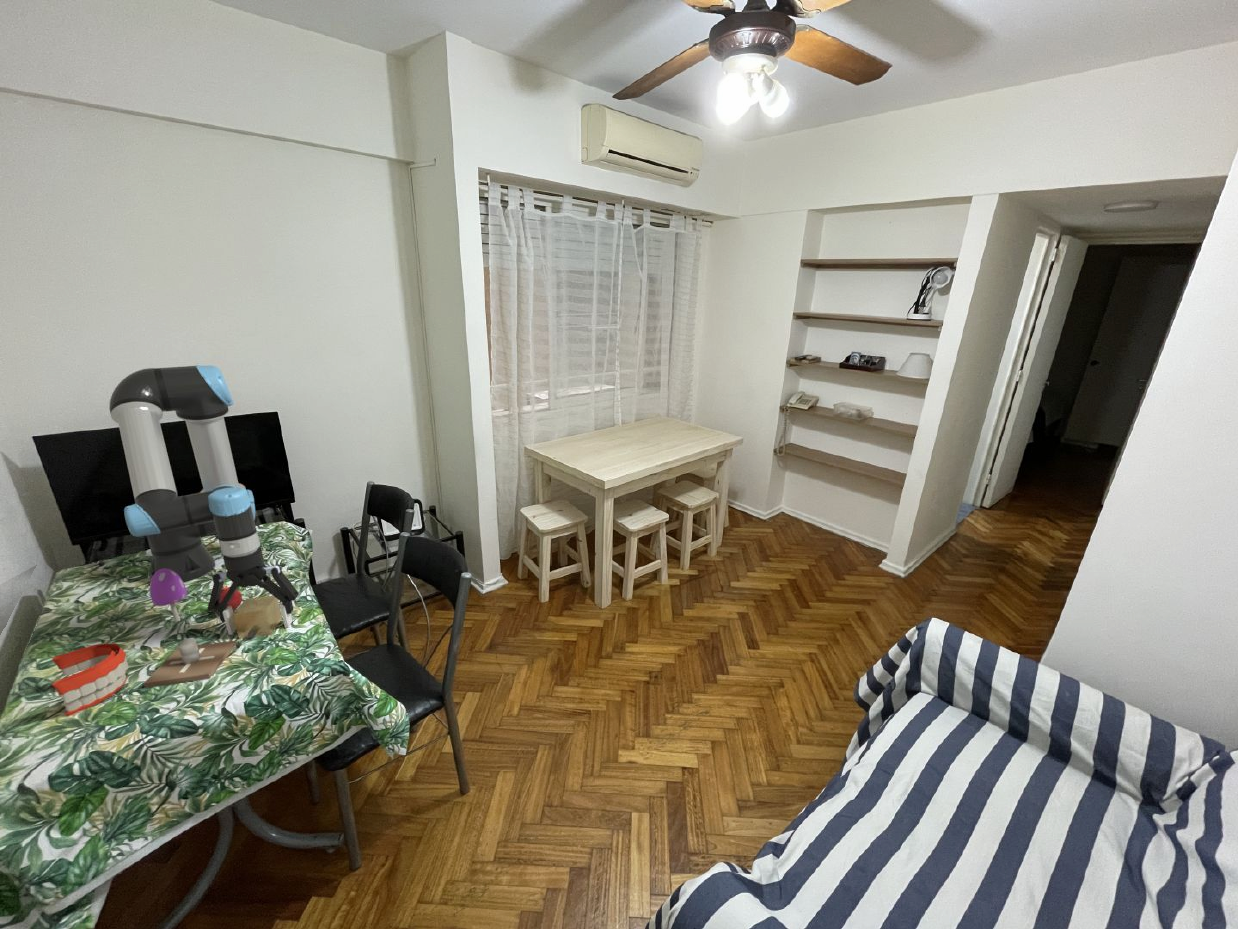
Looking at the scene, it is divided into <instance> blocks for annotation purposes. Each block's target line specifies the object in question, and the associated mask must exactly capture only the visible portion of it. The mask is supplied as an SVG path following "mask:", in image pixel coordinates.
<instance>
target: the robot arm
mask: <svg viewBox="0 0 1238 929" xmlns="http://www.w3.org/2000/svg"><path fill="white" fill-rule="evenodd" d="M233 405H234V400H233V397H232V395H231V392H230V389H229V388H228V385H227V383H226V380H225V378H224V376H223V372H222V371H221V369H220V368H219V367H218V366H216V365H198V364H197V365H188V366H172V367H156V368H155V367H152V368H151V367H149V368H143V369H140V370H137V371H135V372H132V373H130V374H128V375H127V376H125V378H123V379H122V380H121V381H120V382H119V383H118V384H117V386H116V387H115V388H114V389H113V392H112V393H111V395H110V400H109V412H110V417H111V419H112V421H114V422H115V423H116V424H118V427H119V428H118V429H119V431H120V437H121V441H122V442H121V443H122V446H123V450H124V455H125V461H126V465H127V470H128V474H129V480H130V484H131V488H132V493H133V497H134V502H135V503H132V504H131V505H128V506H125V507H124V509H123V512H124V513H123V514H124V519H125V523H126V526H127V528H128V531H129V533H130V535H132V536H134V537H137V538H138V537H144V536H145V537H146V539H147V541H148V542H147V543H148V545H149V546H148V547H149V548H150V552H151V555H152V558H151V565H150V566H151V567H150V573H149V574H150V575H149V577H150V578H151V579H152V577H153V575H154V574H155V572H157V571H158V570H160V569H170V570H172V571H174V572H175V573H177V574H178V575H179V576H180V578H181V579H182V581H183V583H184V582H188V581H191V580H194V579H198V578H199V577H201V576H204V575H207V573H210V572H211V571H212V570H213V569H214V568H215V567H216V562H215V557H213V555H212V554H211V553H210V552H209V550H208V549H207V548H206V546H204V544H203V541H202V537H205V536H206V537H207V536H210V535H215V534H217V538H218V539H217V540H218V543H219V547H220V551H221V554H222V555H223V558H222V559H223V562H224V566H225V570H226V571H224V570H218V571H217V572H215V573H214V574H213V575H212V581H213V582H212V583H213V585H212V589H211V594H210V597H209V601H208V604H207V610H208V611H217V612H218V616H219V618H220V621H221V622H222V623H224V624H225V626H226V629H227V633H228V636H230V635H233V634H234V633H235V632H236V631H237V628H236V625H235V621H234V617H233V613H234V611H233V609H232V606H228V607H227V605H228V603H229V602H230V600H231V599H232V597H233V595H234V594H235V592H236V591H237V590H238V589H239V588H248V587H256V586H258V587H259V588H261V589H264V590H265V591H266V592H268V593H269V594H270V595H271V596H274V597H276V598H277V599H278V601H280V603H279V606H280V610H281V614H282V619H283V620H282V621H283V624H284V627H285V628H289V627H290V626H291V624H292V622H293V618H292V613H293V612H294V604H293V601H296V600H297V597H298V596H299V594H300V592H299V591H298V590H297V589H296V588H295V586H294V585H293V584H292V582H291V581H290V580H289V579H288V578H287V576H286V575H285V573H284V572H283V570H282V566H281V565H280V564H279V563H278V564H275V565H273V566H269V567H268V566H266V565H265V559H264V556H263V555H264V554H263V550H262V548H261V547H260V546H261V543H260V538H259V534H258V530H257V527H256V524H255V523H256V522H255V520H256V506H255V505H256V504H255V498H254V495H253V491H252V490H250V489H246V486H245V485H244V484H242V483H239V481H238V480H239V479H238V476H237V470H236V467H235V463H234V462H235V461H234V459H233V458H234V457H233V453H232V448H231V443H230V440H229V436H228V431H227V426H226V421H225V416H227V415H228V413H229V407H231V406H233ZM163 412H175V414H176V417H177V418H178V419H180V420H183V421H185V424H186V427H187V431H188V432H187V433H188V435H189V439H190V443H191V447H192V450H193V453H194V454H193V455H194V458H195V461H196V466H197V470H198V472H199V478H200V479H201V480H200V481H201V484H202V485H201V486H202V487H203V488H202V489H201V491H199V492H196V493H191V494H188V495H187V494H186V495H181V496H178V490H177V486H176V483H175V478H174V476H173V471H172V466H171V464H170V458H169V456H168V455H169V454H168V452H167V447H166V443H165V439H164V434H163V431H162V425H161V422H160V421H161V419H163V415H164V413H163ZM210 570H211V571H210ZM267 573H268V574H269V576H268V575H267ZM271 577H272V578H273V580H274V581H275V582H274V581H273V580H272V579H271ZM151 579H150V580H151ZM226 579H228V580H230V581H231V582H232V583H231V585H230V586H229V587H228V588H229V590H228V592H227V593H226V595H225V597H224V598H223V600H222V602H221V603H219V600H220V596H221V592H222V589H223V586H224V582H225V581H226Z"/></svg>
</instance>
